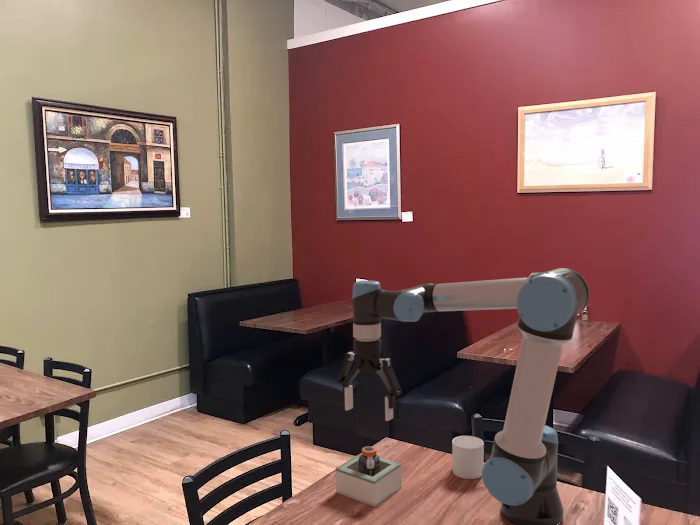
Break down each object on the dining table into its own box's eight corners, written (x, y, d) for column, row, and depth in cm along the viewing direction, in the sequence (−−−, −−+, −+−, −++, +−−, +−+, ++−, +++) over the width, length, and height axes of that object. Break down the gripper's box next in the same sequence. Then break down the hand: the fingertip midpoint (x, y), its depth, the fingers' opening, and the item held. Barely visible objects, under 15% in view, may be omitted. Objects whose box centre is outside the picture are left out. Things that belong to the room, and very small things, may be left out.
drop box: (401, 487, 161) (401, 463, 160) (374, 507, 151) (374, 481, 150) (364, 474, 169) (363, 451, 168) (336, 492, 159) (335, 468, 158)
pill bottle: (378, 494, 156) (378, 454, 155) (357, 492, 157) (356, 452, 156) (381, 483, 162) (381, 445, 161) (360, 481, 163) (360, 443, 162)
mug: (485, 480, 165) (486, 448, 164) (453, 479, 165) (453, 448, 164) (479, 461, 177) (479, 432, 176) (449, 460, 177) (449, 431, 176)
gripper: (414, 341, 150) (414, 419, 153) (339, 330, 166) (341, 401, 168) (398, 347, 145) (399, 428, 147) (323, 335, 160) (325, 408, 162)
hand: (368, 414), depth 157 cm, fingers open, 13 cm apart
